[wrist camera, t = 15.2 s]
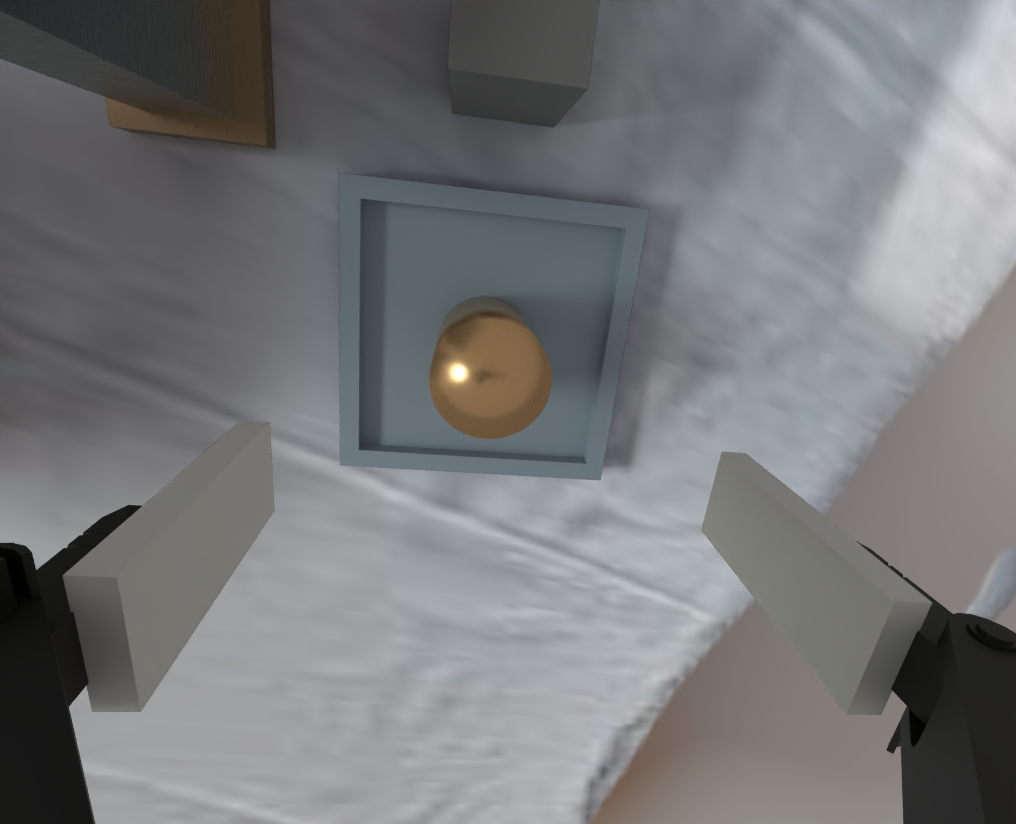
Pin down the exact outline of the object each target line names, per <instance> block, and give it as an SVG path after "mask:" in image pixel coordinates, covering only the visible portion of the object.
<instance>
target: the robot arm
mask: <svg viewBox="0 0 1016 824" xmlns="http://www.w3.org/2000/svg"><path fill="white" fill-rule="evenodd" d="M274 511H275V510H274V491H273V472H272V454H271V435H270V423H268V422H253V421H240V422H238V423H237V424H236V425H235V426H234V427H233V428H232V429H230V430H229V431H228V432H227V433H226V434H225V435H224V436H222V437H221V438H220V439H219V440H218V441H217V442H215V443H214V444H213V445H212V446H211V447H210V448H209V449H207V450H206V451H205V452H204V453H203V454H202V455H201V456H199V457H198V458H197V459H196V460H195V461H194V462H193V463H191V464H190V465H189V466H188V467H187V468H186V469H184V470H183V471H182V472H181V473H180V474H179V475H178V476H176V477H175V478H174V479H173V480H172V481H171V482H170V483H168V484H167V485H166V486H165V487H164V488H163V489H161V490H160V491H159V492H158V493H157V494H156V495H155V496H153V497H152V498H151V499H150V500H149V501H148V502H147V503H145V504H144V505H143V506H136V505H128V506H125V507H123V508H121V509H119V510H117V511H115V512H113V513H110V514H108V515H106V516H104V517H102V518H101V519H100V520H98V521H97V522H96V523H95V524H93V525H92V526H91V527H90V528H88V529H87V530H86V531H85V532H83V536H82V535H80V536H78V537H77V538H76V539H75V540H73V541H72V542H71V543H70V544H68V547H67V548H63V549H62V550H61V551H60V552H58V553H57V554H56V555H55V556H54V557H52V558H51V559H50V560H49V561H47V562H46V563H45V564H44V565H42V566H41V567H40V568H39V569H37V570H36V568H35V564H34V559H33V555H32V552H31V551H30V550H29V549H28V548H27V547H26V546H23V545H19V544H15V543H0V824H95V820H94V816H93V811H92V807H91V802H90V798H89V794H88V789H87V785H86V781H85V776H84V772H83V767H82V763H81V759H80V754H79V750H78V746H77V741H76V737H75V732H74V728H73V724H72V719H71V715H70V711H69V706H70V705H71V703H72V702H73V701H74V700H75V699H76V697H77V696H78V695H79V694H80V693H81V691H82V690H83V689H84V688H85V686H86V685H87V690H88V695H89V699H90V704H91V708H92V712H141V711H142V709H143V708H144V706H145V705H146V703H147V702H148V700H149V699H150V697H151V696H152V694H153V693H154V691H155V690H156V688H157V687H158V685H159V684H160V682H161V681H162V679H163V678H164V676H165V675H166V673H167V672H168V670H169V669H170V667H171V666H172V664H173V663H174V661H175V660H176V658H177V657H178V655H179V654H180V652H181V651H182V649H183V647H184V646H185V644H186V643H187V641H188V640H189V638H190V637H191V635H192V634H193V632H194V631H195V629H196V628H197V626H198V625H199V623H200V622H201V620H202V619H203V617H204V616H205V614H206V613H207V611H208V610H209V608H210V607H211V605H212V604H213V602H214V601H215V599H216V598H217V596H218V595H219V593H220V592H221V590H222V589H223V587H224V586H225V584H226V583H227V581H228V580H229V578H230V577H231V575H232V574H233V572H234V571H235V569H236V568H237V566H238V565H239V563H240V562H241V560H242V559H243V557H244V556H245V554H246V553H247V551H248V550H249V548H250V547H251V545H252V544H253V542H254V541H255V539H256V538H257V536H258V535H259V533H260V532H261V530H262V529H263V527H264V526H265V524H266V523H267V521H268V520H269V518H270V517H271V515H272V514H273V512H274ZM701 531H702V532H703V533H704V534H705V536H706V537H707V538H708V540H709V541H710V542H711V543H712V545H713V546H714V547H715V548H716V550H717V551H718V552H719V553H720V555H721V556H722V557H723V559H724V560H725V561H726V562H727V564H728V565H729V566H730V567H731V569H732V570H733V571H734V573H735V574H736V575H737V576H738V578H739V579H740V580H741V581H742V583H743V584H744V585H745V587H746V588H747V589H748V590H749V592H750V593H751V594H752V595H753V597H754V598H755V599H756V601H757V602H758V603H759V604H760V606H761V607H762V608H763V609H764V611H765V612H766V613H767V615H768V616H769V617H770V618H771V619H772V621H773V622H774V623H775V625H776V626H777V627H778V628H779V630H780V631H781V632H782V633H783V635H784V636H785V637H786V639H787V640H788V641H789V643H790V644H791V645H792V646H793V648H794V649H795V650H796V651H797V653H798V654H799V655H800V656H801V658H802V659H803V660H804V662H805V663H806V664H807V665H808V667H809V668H810V669H811V670H812V672H813V673H814V674H815V676H816V677H817V678H818V679H819V680H820V682H821V683H822V684H823V686H824V687H825V688H826V690H827V691H828V692H829V693H830V695H831V696H832V697H833V698H834V700H835V701H836V702H837V703H838V705H839V706H840V707H841V709H842V710H843V711H844V712H845V714H846V715H847V714H848V715H854V714H855V715H860V714H861V715H865V714H866V715H868V714H869V715H881V714H882V711H883V709H884V707H885V705H886V703H887V701H888V698H889V696H890V694H891V692H892V690H893V691H894V693H895V694H896V695H897V696H898V697H899V698H900V699H901V700H902V701H903V702H904V703H905V704H906V705H907V707H906V709H905V711H904V713H903V715H902V718H901V720H900V722H899V724H898V726H897V728H896V730H895V732H894V734H893V736H892V738H891V741H890V743H889V745H888V748H887V751H889V752H891V753H894V751H895V749H896V747H899V746H901V764H902V794H903V823H904V824H1016V633H1014V632H1013V631H1011V630H1009V629H1008V628H1006V627H1004V626H1002V625H1000V624H997V623H995V622H993V621H991V620H988V619H986V618H982V617H979V616H975V615H972V614H964V613H956V614H952V613H951V612H949V611H948V610H947V609H946V608H945V607H943V606H942V605H941V604H940V603H938V602H937V601H936V600H934V599H933V598H932V597H931V596H929V595H928V594H927V593H926V592H924V591H923V590H922V589H921V588H919V587H918V586H917V585H915V584H914V583H913V582H912V581H910V580H909V579H908V578H907V577H903V574H902V573H900V572H899V571H898V570H896V569H895V568H894V567H893V566H889V565H888V562H886V561H885V560H884V559H882V558H881V557H880V556H879V555H877V554H876V553H875V552H874V551H872V550H871V549H869V548H868V547H866V546H864V545H862V544H860V543H858V542H857V541H855V540H854V539H852V538H851V537H850V536H848V535H847V534H846V533H845V532H843V531H842V530H841V529H840V528H838V527H837V526H836V525H835V524H833V523H832V522H831V521H830V520H828V519H827V518H826V517H825V516H823V515H822V514H821V513H820V512H818V511H817V510H816V509H815V508H813V507H812V506H811V505H810V504H808V503H807V502H806V501H805V500H803V499H802V498H801V497H800V496H798V495H797V494H796V493H795V492H793V491H792V490H791V489H790V488H788V487H787V486H786V485H785V484H783V483H782V482H781V481H780V480H778V479H777V478H776V477H775V476H773V475H772V474H771V473H770V472H768V471H767V470H766V469H765V468H763V467H762V466H761V465H760V464H758V463H757V462H756V461H755V460H753V459H752V458H751V457H750V456H748V455H747V454H746V453H734V452H722V453H721V457H720V461H719V465H718V468H717V472H716V476H715V480H714V484H713V487H712V491H711V495H710V499H709V503H708V506H707V510H706V514H705V518H704V522H703V526H702V529H701Z"/></svg>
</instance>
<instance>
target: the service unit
mask: <svg viewBox="0 0 1016 824" xmlns="http://www.w3.org/2000/svg"><path fill="white" fill-rule="evenodd" d="M0 59H3V60H5V61H8V62H11V63H14V64H16V65H19V66H22V67H25V68H27V69H30V70H33V71H36V72H38V73H41V74H44V75H47V76H49V77H52V78H55V79H58V80H60V81H63V82H66V83H69V84H71V85H74V86H77V87H80V88H82V89H85V90H88V91H91V92H93V93H96V94H99V95H102V96H104V97H106V102H107V109H108V116H109V124H110V126H112V127H115V128H119V129H122V130H126V131H132V132H140V133H148V134H157V135H165V136H173V137H181V138H190V139H198V140H206V141H214V142H222V143H231V144H239V145H247V146H255V147H264V148H272V149H275V127H274V102H273V78H272V54H271V30H270V6H269V0H0Z"/></svg>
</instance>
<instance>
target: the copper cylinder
mask: <svg viewBox="0 0 1016 824" xmlns="http://www.w3.org/2000/svg"><path fill="white" fill-rule="evenodd" d="M429 387H430V393H431V397H432V400H433V402H434V405H435V407H436V409H437V410H438V412H439V413H440V415H441V416H442V417H443V418H444V420H445V421H446V422H448V423H449V424H450V425H451V426H452V427H454V428H455V429H456V430H458V431H460V432H462V433H464V434H467V435H469V436H472V437H476V438H482V439H497V438H503V437H507V436H511V435H513V434H516V433H518V432H520V431H522V430H523V429H525V428H526V427H528V426H529V425H530V424H531V423H532V422H534V421H535V420H536V418H537V417H538V416H539V415H540V414H541V412H542V411H543V409H544V407H545V405H546V403H547V401H548V399H549V396H550V392H551V387H552V372H551V367H550V363H549V360H548V357H547V355H546V353H545V351H544V349H543V348H542V346H541V345H540V343H539V342H538V340H537V338H536V337H535V335H534V334H533V332H532V331H531V329H530V328H529V326H528V325H527V323H526V322H525V320H524V318H523V317H522V316H521V314H520V313H519V312H518V311H517V310H516V309H515V308H514V307H513V306H512V305H510V304H509V303H507V302H505V301H503V300H501V299H497V298H494V297H483V296H482V297H475V298H471V299H468V300H465V301H463V302H461V303H460V304H458V305H457V306H455V307H454V308H453V309H452V310H451V311H450V312H449V313H448V314H447V316H446V317H445V319H444V321H443V322H442V325H441V327H440V331H439V335H438V339H437V343H436V347H435V351H434V355H433V360H432V364H431V368H430V374H429Z"/></svg>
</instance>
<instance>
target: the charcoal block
mask: <svg viewBox="0 0 1016 824" xmlns="http://www.w3.org/2000/svg"><path fill="white" fill-rule="evenodd" d="M599 1H600V0H451V16H450V34H449V51H448V78H449V87H450V96H451V106H452V114H460V115H467V116H474V117H482V118H489V119H497V120H504V121H511V122H519V123H526V124H534V125H541V126H548V127H554V126H555V125H556V124H557V123H558V122H559V121H560V119H561V118H562V117H563V116H564V115H565V114H566V113H567V112H568V110H569V109H570V108H571V107H572V106H573V105H574V104H575V102H576V101H577V100H578V99H579V98H580V97H581V96H582V95H583V93H584V92H585V91H586V90H587V89H588V83H589V75H590V68H591V60H592V53H593V46H594V38H595V31H596V23H597V16H598V9H599Z"/></svg>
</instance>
